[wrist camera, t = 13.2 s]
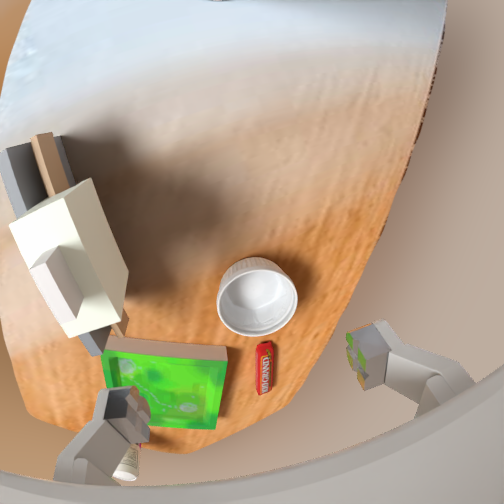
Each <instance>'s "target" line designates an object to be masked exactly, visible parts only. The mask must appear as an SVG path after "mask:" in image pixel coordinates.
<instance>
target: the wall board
mask: <svg viewBox="0 0 504 504" xmlns="http://www.w3.org/2000/svg"><path fill="white" fill-rule="evenodd" d="M30 139H31V142H30V143H25V144H21V145H17V146H14V147H10V148H6V149H5V150H3V151H2V152H0V173H1V176H2V179H3V182H4V185H5V188H6V191H7V194H8V197H9V199H10V202H11V205H12V207H13V210H14V213H15V215H16V218H19V217H20V216H21V215H23V214H24V213H25V212H27V211H28V210H30V209H31V208H32V207H34V206H35V205H37V204H38V203H40V202H41V201H43V200H44V199H45V198H47V197H49V198H50V197H52V196H54V195H56V194H58V193H61V192H63V191H65V190H67V189H69V188H71V187H74V186H76V183H75V180H74V177H73V174H72V171H71V168H70V165H69V162H68V159H67V156H66V152H65V149H64V146H63V143H62V139H61V136H57V137H53V133H52V132H49V133H44V134H38V135H35V136H33V137H32V138H30ZM128 321H129V318H128V316H127V314H126V312H125V310H124V308H123V311H122V319H121V321H120V322H117V323H114V324H111V325H108V326H105V327H102V328H99V329H96V330H93V331H90V332H86V333H83V334H80V335H78V337H79V338H80V340H81V341H82V343H83V344H84V346H85V347H86V349H87V350H88V352H89V353H90V354H91V356H97V355H102V354H103V353H104V349H105V346H106V343H107V340H108V337H109V334H110V331H111V329H113V330H114V332H115V334H116V335H117V337H118V338H122V337H124V336H125V332H126V328H127V325H128Z"/></svg>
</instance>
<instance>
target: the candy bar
mask: <svg viewBox="0 0 504 504" xmlns="http://www.w3.org/2000/svg"><path fill="white" fill-rule="evenodd" d="M273 363H274V350H273V347H272V345H271V341H270V342H268V343H264V344H259V345H257V348H256V390H257V392H258V395H262V394H264V393H267V392H269V391H271V390H272V383H273Z"/></svg>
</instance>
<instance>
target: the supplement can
mask: <svg viewBox="0 0 504 504" xmlns="http://www.w3.org/2000/svg"><path fill="white" fill-rule="evenodd" d="M140 450H141V443H135V444H131V446H130V447H129V449H128V451H127V452H126V454H125V456H124V457H123V459H122V460H121V462H120V464H119V465H118V467H117V469H116V470H115V472H114V474H113V475H112V476H113V477H115V478H117V479H120V480H125V481H134V480H136V478H137V476H138V475H139V464H140Z"/></svg>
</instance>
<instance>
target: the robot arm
mask: <svg viewBox="0 0 504 504" xmlns="http://www.w3.org/2000/svg"><path fill="white" fill-rule="evenodd" d="M215 1H220V0H215ZM346 340H347V342H348V344H349V345H348V346H347V348H346V349H347V357H348V361H349V363H350V366H351V368H352V370H354V371H356V372H357V379H358V381H359V383H360V384H361V386H362V388H363V390H364V391H365V390H368V389H371V388H374V387H376V386H379V385H381V384H384V383H385V385H386V386H388V387H390V388H392V389H394V390H395V391H397V392H399V393H400V394H402V395H404V396H406V397H407V398H409V399H411V400H413V401H414V402H416V403H418V404H419V406H418V409H417V412H416V415H415V417H414V419H413V420H411V421H409V422H407V423H405V424H403V425H401V426H399V427H396V428H394V429H392V430H390V431H388V432H385V433H383V434H381V435H378V436H376V437H374V438H371V439H369V440H366V441H364V442H361V443H358V444H356V445H353V446H351V447H348V448H345V449H342V450H339V451H337V452H334V453H331V454H328V455H324V456H321V457H318V458H315V459H312V460H308V461H305V462H301V463H298V464H294V465H290V466H286V467H282V468H278V469H274V470H270V471H265V472H261V473H256V474H251V475H246V476H240V477H235V478H229V479H222V480H215V481H207V482H199V483H189V484H177V485H162V486H121V485H120V484H119V483H118V482H116V481H115V480H114V479H112V478H111V477H112V475H113V474H114V472H115V470H116V469H117V467H118V465H119V464H120V462H121V460H122V459H123V457H124V456H125V454H126V452H127V451H128V449H129V447H130V446H131V444H135V443H145V442H149V436H150V428H149V427H148V425H147V423H148V422H149V421H150V419H151V411H150V406H149V404H148V402H147V400H146V399H145V398H144V397H142V396H140V395H139V390H138V388H137V387H136V386H134V385H132V386H123V387H114V388H106V389H101V390H100V391H99V393H98V397H97V401H96V405H95V410H94V414H93V419H92V421H89V422H88V423H87V424H86V425H85V426H84V427H83V428H82V430H81V431H80V432H79V433H78V434H77V435H76V436H75V438H74V439H73V440H72V441H71V442H70V443H69V444H68V445H67V447H66V448H65V449H64V450H63V451H62V452H61V454H60V455H59V456H58V458H57V463H56V468H55V473H54V478H53V480H45V479H40V478H35V477H29V476H24V475H20V474H15V473H10V472H7V471H3V470H0V504H504V364H503V365H502V366H500V367H499V368H498V369H497V370H495V371H494V372H492V373H491V374H489V375H488V376H487V377H485V378H483V379H482V380H481V381H479V382H477V383H475V382H474V380H473V379H472V378H471V377H470V375H469V374H468V373H467V372H466V370H465V369H464V368H463V367H462V366H461V364H460V363H459V362H457V361H454V360H452V359H449V358H446V357H443V356H440V355H437V354H435V353H432V352H430V351H427V350H424V349H421V348H419V347H416V346H413V345H410V344H406V345H405V344H404V343H403V342H402V341H401V339H400V338H399V337H398V335H397V334H396V333H395V332H394V330H393V329H392V328H391V326H390V325H389V324H388V323H387V322H386V320H385V319H381V320H378V321H375V322H373V323H371V324H367V325H364V326H362V327H359V328H356V329H354V330H351V331H348V332H347V333H346Z"/></svg>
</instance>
